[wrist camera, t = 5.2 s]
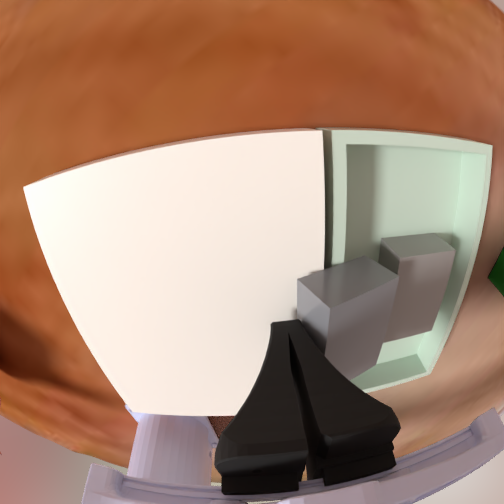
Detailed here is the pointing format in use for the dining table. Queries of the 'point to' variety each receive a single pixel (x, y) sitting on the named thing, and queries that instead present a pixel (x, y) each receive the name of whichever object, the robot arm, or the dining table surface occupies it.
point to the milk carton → (498, 273)
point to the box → (405, 219)
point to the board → (185, 260)
